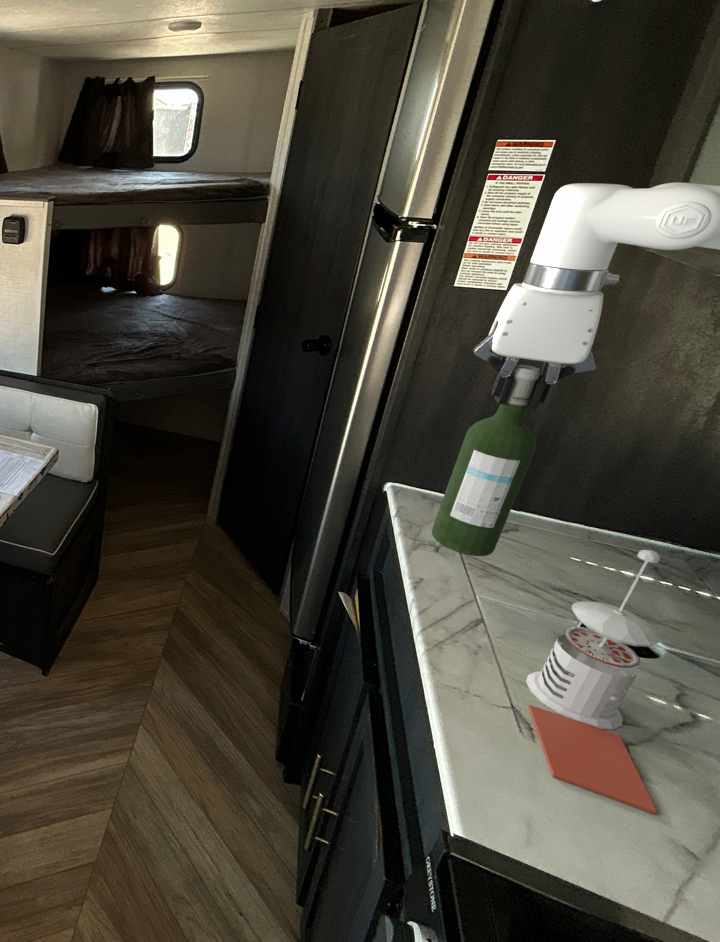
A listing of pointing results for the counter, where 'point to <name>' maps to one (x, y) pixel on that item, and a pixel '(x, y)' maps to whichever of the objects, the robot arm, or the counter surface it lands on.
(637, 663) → the french press
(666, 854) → the counter surface
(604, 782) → the napkin
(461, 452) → the wine bottle
